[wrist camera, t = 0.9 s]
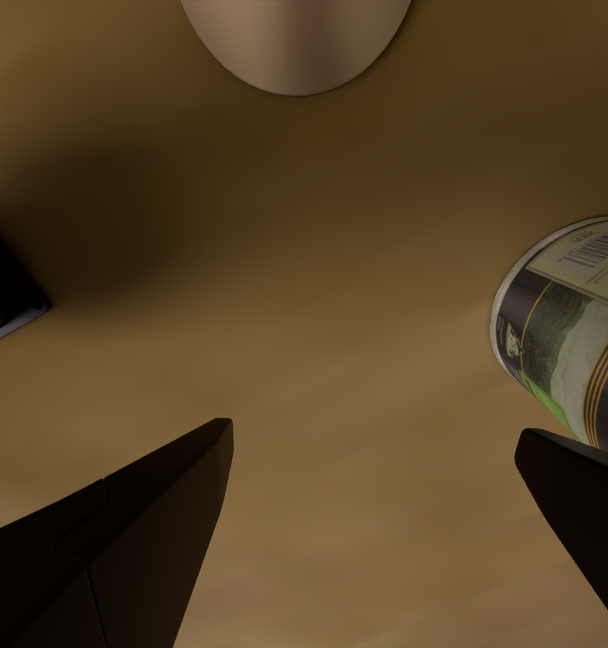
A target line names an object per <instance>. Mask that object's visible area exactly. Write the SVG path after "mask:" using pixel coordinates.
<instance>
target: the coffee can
mask: <svg viewBox="0 0 608 648" xmlns="http://www.w3.org/2000/svg"><path fill="white" fill-rule="evenodd" d="M489 333H490V339H491V344H492V348H493V351H494V353H495V355H496V358H497V360H498V361H499V363H500V364H501V366H502V367H503V368H504V369H505V371H506V372H507V373H508V374H509V375H510V376H511V377H512V378H514V379H515V380H516V381H518V382H520V383H521V384H522V385H523V386H524V387H525V388H526V389H527V390H528V391H529V392H530V393H531V394H532V395H533V396H534V397H535V398H537V399H538V400H539V401H540V402H541V403H542V404H543V405H544V406H545V407H546V408H547V409H548V410H549V411H550V412H551V413H552V414H553V415H554V416H555V417H556V418H557V419H558V420H559V421H560V422H561V423H562V424H563V425H564V426H566V427H567V428H568V429H569V430H570V431H571V432H572V433H573V434H574V435H575V436H576V437H577V438H578V439H579V440H580V441H581V442H582V443H584V444H587V445H590V446H593V447H595V448H598V449H601V450H604V451H607V452H608V217H599V218H590V219H587V220H584V221H580V222H577V223H574V224H571V225H569V226H566V227H564V228H562V229H560V230H558V231H556V232H554V233H552V234H550V235H549V236H547V237H546V238H544V239H542V240H541V241H540V242H538V243H537V244H536V245H534V246H533V247H532V248H531V249H530V250H528V251H527V252H526V253H525V254H524V255H523V256H522V257H521V258H520V259H519V260H518V261H517V262H516V263H515V265H514V266H513V267H512V269H511V271H510V272H509V273H508V275H507V276H506V277H505V279H504V280H503V282H502V284H501V286H500V288H499V290H498V292H497V294H496V297H495V300H494V303H493V306H492V310H491V315H490V325H489Z"/></svg>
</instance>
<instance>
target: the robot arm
mask: <svg viewBox="0 0 608 648" xmlns="http://www.w3.org/2000/svg"><path fill="white" fill-rule="evenodd" d="M37 301H38V302H40V303H41V305H42V307H40V306H39V305H38V303H37ZM50 309H51V302H50V300H49V298H48V297H47V296H46V295H45V293H44V292H43V291H42V290H41V288H40V287H39V286H38V285H37V283H36V282H35V281H34V280H33V278H32V277H31V276H30V275H29V273H28V272H27V271H26V270H25V268H24V267H23V266H22V265H21V263H20V262H19V261H18V260H17V258H16V257H15V256H14V255H13V253H12V252H11V251H10V250H9V248H8V247H7V246H6V245H5V243H4V242H3V241H2V240H1V238H0V337H2V336H4V335H6V334H8V333H9V332H11V331H13V330H15V329H17V328H18V327H20V326H22V325H24V324H26V323H27V322H29V321H31V320H33V319H35V318H36V317H38V316H40V315H42V314H43V313H45V312H47V311H49V310H50ZM233 451H234V440H233V422H232V419H230V418H215V419H213V420H211V421H209V422H207V423H206V424H204V425H202V426H200V427H198V428H196V429H194V430H192V431H191V432H189V433H187V434H185V435H183V436H181V437H179V438H177V439H176V440H174V441H172V442H170V443H168V444H166V445H164V446H162V447H161V448H159V449H157V450H155V451H153V452H151V453H149V454H147V455H146V456H144V457H142V458H140V459H138V460H136V461H134V462H133V463H131V464H129V465H127V466H125V467H123V468H121V469H119V470H118V471H116V472H114V473H112V474H110V475H108V476H106V477H105V478H104V479H99V480H97V481H96V482H94V483H92V484H90V485H88V486H86V487H84V488H82V489H81V490H79V491H77V492H75V493H73V494H71V495H69V496H67V497H65V498H63V499H61V500H59V501H57V502H55V503H53V504H50V505H48V506H46V507H44V508H42V509H40V510H38V511H36V512H34V513H31V514H29V515H27V516H25V517H23V518H21V519H18V520H16V521H14V522H12V523H10V524H8V525H5V526H3V527H1V528H0V648H173V645H174V643H175V640H176V637H177V634H178V631H179V628H180V626H181V623H182V620H183V617H184V614H185V611H186V609H187V606H188V603H189V600H190V597H191V594H192V592H193V589H194V586H195V583H196V580H197V577H198V574H199V572H200V569H201V566H202V563H203V560H204V557H205V555H206V552H207V549H208V546H209V543H210V540H211V538H212V535H213V532H214V529H215V526H216V523H217V521H218V518H219V515H220V512H221V508H222V505H223V501H224V496H225V492H226V487H227V482H228V477H229V472H230V468H231V463H232V458H233ZM514 459H515V464H516V467H517V469H518V471H519V472H520V474H521V476H522V478H523V480H524V481H525V483H526V485H527V487H528V489H529V491H530V492H531V494H532V496H533V498H534V500H535V502H536V503H537V505H538V507H539V509H540V510H541V512H542V514H543V516H544V517H545V519H546V520H547V522H548V523H549V525H550V526H551V528H552V529H553V531H554V532H555V534H556V535H557V537H558V538H559V540H560V541H561V543H562V544H563V545H564V547H565V548H566V550H567V551H568V553H569V554H570V556H571V557H572V559H573V560H574V562H575V563H576V564H577V566H578V567H579V569H580V570H581V572H582V573H583V575H584V576H585V578H586V579H587V581H588V582H589V583H590V585H591V586H592V588H593V589H594V591H595V592H596V594H597V595H598V597H599V598H600V600H601V601H602V602H603V604H604V605H605V607H606V608H607V610H608V452H607V451H604V450H601V449H598V448H595V447H593V446H590V445H587V444H584V443H581V442H578V441H575V440H572V439H570V438H567V437H564V436H561V435H558V434H555V433H552V432H549V431H546V430H544V429H538V428H526V429H524V430H523V431H522V432H521V435H520V438H519V442H518V445H517V448H516V452H515V458H514Z"/></svg>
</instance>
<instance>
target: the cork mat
mask: <svg viewBox="0 0 608 648" xmlns="http://www.w3.org/2000/svg"><path fill="white" fill-rule="evenodd" d="M180 1H181V3H182V5H183V8H184V10H185V12H186V14H187V17H188V19H189V21H190V22H191V24H192V26H193V28H194V29H195V31H196V33H197V34H198V36H199V37H200V39H201V40H202V42H203V43H204V44H205V46H206V47H207V48H208V50H209V51H210V52H211V53H212V55H213V56H214V57H215V58H216V59H217V60H218V61H219V62H220V63H221V64H222V65H223V66H224V67H225V68H226V69H227V70H229V71H230V72H231V73H232V74H233V75H235V76H236V77H237V78H239V79H241V80H242V81H244V82H245V83H247V84H249V85H251V86H253V87H255V88H257V89H260V90H262V91H265V92H268V93H272V94H275V95H281V96H289V97H306V96H312V95H317V94H322V93H325V92H328V91H331V90H334V89H336V88H338V87H340V86H342V85H344V84H346V83H348V82H349V81H351V80H352V79H354V78H355V77H357V76H358V75H360V74H361V73H362V72H363V71H364V70H365V69H367V68H368V67H369V66H370V65H371V64H372V63H373V62H374V61H375V60H376V59H377V58H378V56H379V55H380V54H381V53H382V52H383V51H384V49H385V48H386V46H387V45H388V43H389V42H390V41H391V39H392V38H393V36H394V35H395V33H396V31H397V30H398V28H399V26H400V24H401V22H402V20H403V18H404V16H405V14H406V12H407V10H408V7H409V5H410V2H411V0H180Z"/></svg>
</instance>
